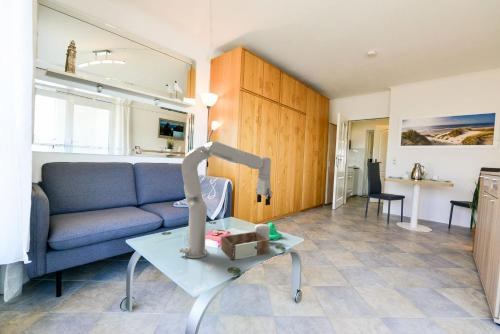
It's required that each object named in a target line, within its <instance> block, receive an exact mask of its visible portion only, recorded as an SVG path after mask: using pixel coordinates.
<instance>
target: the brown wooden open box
mask: <svg viewBox="0 0 500 334" xmlns="http://www.w3.org/2000/svg"><path fill="white" fill-rule="evenodd" d="M220 239H221V241H220V243H221V245H220V250H221V251H222V252H223V254H225V256H226V257H228V259H229V260H230V261H234V259H233V258H234V245H238V244H244V243H250V242H255V241H257V247H258V249H257V255H256V256H260V255H261V256H262V255H266V254H269V253H270V252H269V251H270V239H267V238H265V237H264V236H262V235H261V234H259V233H257V232H256V231H255V230H254V231H250V232H249V231H248V232H244V233H236V234H229V235H224V236H221V238H220Z"/></svg>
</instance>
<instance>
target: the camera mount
mask: <svg viewBox="0 0 500 334" xmlns="http://www.w3.org/2000/svg"><path fill="white" fill-rule="evenodd" d="M267 225H269V227H270V233H269V240H273V241H275V240H279V238H282V237H283V234H282V233H280V232H278V230H277V229H276V224H275V223H273V222H268V223H267Z"/></svg>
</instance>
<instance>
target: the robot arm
mask: <svg viewBox="0 0 500 334" xmlns="http://www.w3.org/2000/svg"><path fill="white" fill-rule="evenodd" d="M211 157H214V158H218V159H221V160H225V161H227V162H229V163H234V164H239V165H244V166H247V168H249V169H253V170H258V178H257V180H256V181H257V182H256V188H255V193H256V203H262V197H263V196H265V203H264V205H265V206H271V199H272V197H273V192H272V186H271V165H272V159H271V158H270V157H261V156H258V155H255V154H253V153H250V152H247V151H244V150H241V149H239V148H235V147H232V146H230V145H227V144H225V143H222V142H218V141H215V140H213V141H209V142H207V143H206V144H203V145H201V146H198V147H196V148H193V149H191V150H190V151H188V153H186V155H185V157H184V158H183V160H182V162H181V175H182V180H183V191H184V195H185V199H186V203H187V208H188V211H189V214H188V238H187V239H188V242H187V244H188V245H186V246H185V248H179V251H178V252H179V253H182V254H184V255H185V257H186V258H189V259H193V260H194V259H195V260H196V259H201V258H204V257H206V256H207V255H208V254H209V252H208V249H207V248H206V236H207V235H206V234H207V233H206V230H207V229H206V228H207V215H208V214H207V213H208V206H207V203H206V202H205V200H204V198H203V195H202V184H201V180H200V176H199V171H198V169H199V168H198V167H199V165H200V164H201V163H203V161H205V160H207V159H210V158H211Z"/></svg>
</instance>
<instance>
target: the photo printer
mask: <svg viewBox="0 0 500 334" xmlns="http://www.w3.org/2000/svg"><path fill="white" fill-rule="evenodd" d="M255 231H256V232H257V233H259V234H261V235H262V236H264V237H265V238H267V239H269V233H270V227H269V225H268V224H265V223H259V224H256V225H255V226H254V232H255ZM269 240H270V239H269Z"/></svg>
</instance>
